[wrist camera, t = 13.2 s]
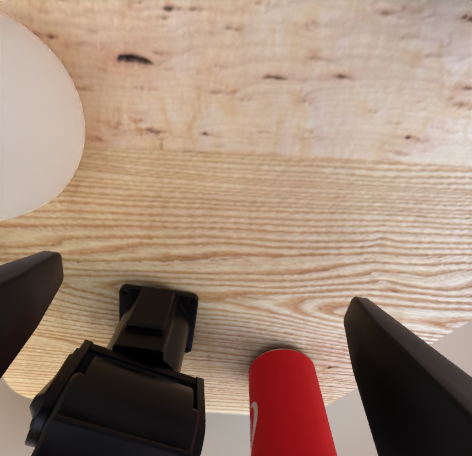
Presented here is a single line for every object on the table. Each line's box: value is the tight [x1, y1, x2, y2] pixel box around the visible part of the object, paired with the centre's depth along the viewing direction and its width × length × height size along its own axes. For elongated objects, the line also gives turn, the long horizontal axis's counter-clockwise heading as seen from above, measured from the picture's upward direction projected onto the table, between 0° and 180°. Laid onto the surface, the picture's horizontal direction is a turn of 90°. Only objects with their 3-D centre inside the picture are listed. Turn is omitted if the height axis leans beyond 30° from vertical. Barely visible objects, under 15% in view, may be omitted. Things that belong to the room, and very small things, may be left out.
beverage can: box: [249, 349, 337, 456], centre depth 24 cm, size 6×6×12 cm
